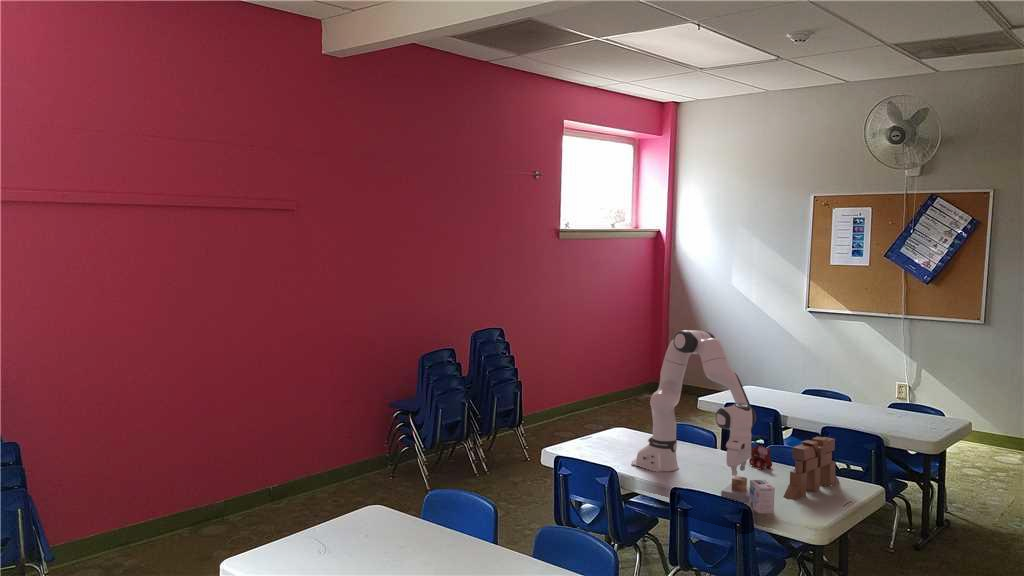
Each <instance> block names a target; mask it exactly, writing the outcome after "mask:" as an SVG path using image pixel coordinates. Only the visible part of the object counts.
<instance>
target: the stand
mask: <svg viewBox="0 0 1024 576" xmlns="http://www.w3.org/2000/svg"><path fill="white" fill-rule="evenodd" d="M749 494H750V486H747V489H746V490H745V491H744V492H740V491H735V490H732V483H730V484H728V485H727V486H726V487H725V488H723V489H722V490H721V492H720V495H721V497H722V496H725V497H724V498H727V497H729V498H728V499H732V500H737V501H741V500H742V501H741V502H747V503H749Z"/></svg>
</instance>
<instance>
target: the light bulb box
mask: <svg viewBox="0 0 1024 576" xmlns="http://www.w3.org/2000/svg"><path fill="white" fill-rule="evenodd" d="M749 487H750V494H749V502H748V505H749V506H750V507H751V508H752V509H753V511H756V513H757V514H774V513H775V491H776V487H775V486H773V485H772V484H771V483H769V481H767V480H765V479H750V480H749Z"/></svg>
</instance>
